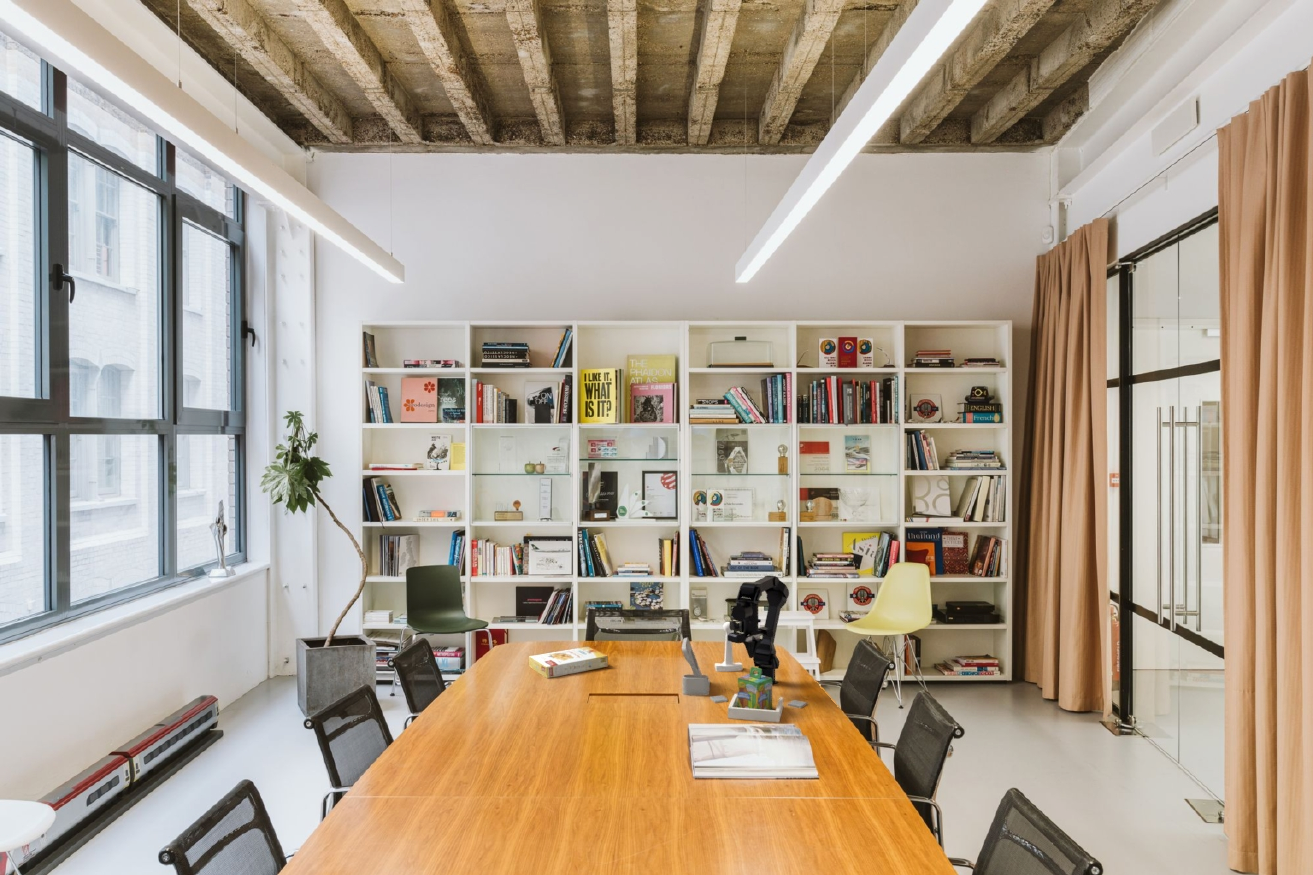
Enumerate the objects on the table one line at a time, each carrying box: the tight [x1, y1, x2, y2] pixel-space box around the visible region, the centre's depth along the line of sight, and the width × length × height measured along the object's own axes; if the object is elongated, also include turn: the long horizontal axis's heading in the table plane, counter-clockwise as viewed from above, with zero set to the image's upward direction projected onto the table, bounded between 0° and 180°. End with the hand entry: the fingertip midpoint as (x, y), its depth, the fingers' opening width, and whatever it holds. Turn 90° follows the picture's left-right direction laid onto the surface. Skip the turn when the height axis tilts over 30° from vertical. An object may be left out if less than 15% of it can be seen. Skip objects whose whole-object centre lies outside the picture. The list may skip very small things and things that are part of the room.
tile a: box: [787, 699, 808, 709], centre depth 276 cm, size 5×5×1 cm
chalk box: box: [737, 666, 773, 710], centre depth 271 cm, size 9×9×15 cm
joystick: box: [714, 621, 743, 673], centre depth 320 cm, size 11×8×20 cm
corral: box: [727, 693, 784, 723], centre depth 269 cm, size 15×17×4 cm
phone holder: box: [681, 636, 711, 696], centre depth 296 cm, size 17×10×18 cm, turn 175°
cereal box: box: [528, 646, 609, 679], centre depth 325 cm, size 20×6×28 cm
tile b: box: [709, 695, 729, 704], centre depth 282 cm, size 5×5×1 cm
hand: (750, 657), depth 290 cm, fingers closed
